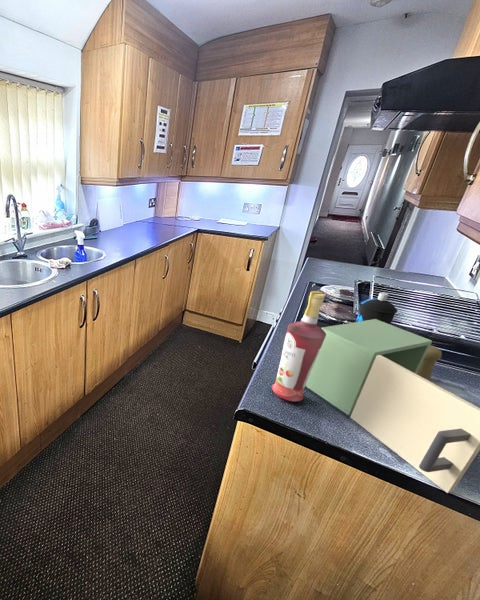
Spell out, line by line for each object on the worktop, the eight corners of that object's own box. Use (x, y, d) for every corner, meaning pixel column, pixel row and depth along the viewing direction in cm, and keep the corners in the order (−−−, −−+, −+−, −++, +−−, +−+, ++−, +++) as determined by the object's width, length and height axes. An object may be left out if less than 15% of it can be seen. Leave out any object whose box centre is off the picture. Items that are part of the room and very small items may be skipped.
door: (423, 497, 57) (468, 422, 51) (330, 419, 74) (355, 356, 68) (452, 492, 58) (500, 418, 51) (353, 417, 75) (380, 354, 69)
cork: (433, 390, 85) (452, 355, 80) (404, 386, 87) (422, 350, 82) (420, 377, 90) (437, 342, 86) (393, 372, 92) (408, 339, 88)
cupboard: (403, 400, 81) (432, 340, 75) (348, 415, 76) (374, 352, 69) (353, 373, 92) (375, 318, 85) (302, 384, 86) (321, 327, 80)
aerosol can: (382, 354, 101) (408, 295, 93) (370, 362, 97) (396, 301, 89) (351, 343, 107) (373, 286, 99) (339, 349, 103) (360, 291, 95)
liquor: (310, 405, 79) (347, 299, 67) (280, 406, 78) (312, 300, 67) (291, 386, 85) (323, 286, 74) (263, 386, 85) (291, 287, 74)
